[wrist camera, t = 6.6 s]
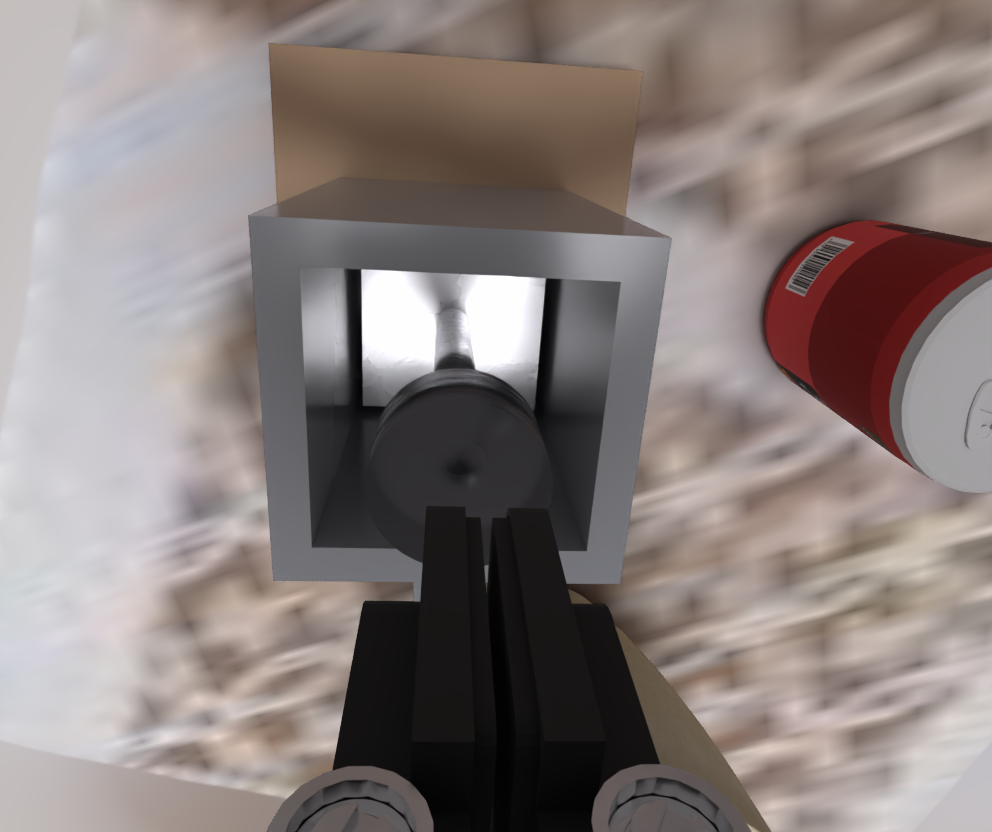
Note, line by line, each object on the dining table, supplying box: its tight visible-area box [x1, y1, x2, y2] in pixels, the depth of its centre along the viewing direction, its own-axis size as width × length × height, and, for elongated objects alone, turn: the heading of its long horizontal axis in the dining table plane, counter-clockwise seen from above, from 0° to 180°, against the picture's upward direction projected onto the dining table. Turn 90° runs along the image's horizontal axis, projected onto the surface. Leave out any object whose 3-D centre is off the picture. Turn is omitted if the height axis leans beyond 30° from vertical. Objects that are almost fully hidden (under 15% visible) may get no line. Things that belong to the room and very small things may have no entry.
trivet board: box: [269, 43, 643, 217], centre depth 30 cm, size 18×14×2 cm
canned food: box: [764, 220, 992, 493], centre depth 27 cm, size 8×8×11 cm
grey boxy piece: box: [248, 177, 672, 602], centre depth 23 cm, size 12×9×14 cm
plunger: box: [361, 269, 553, 566], centre depth 20 cm, size 6×6×13 cm
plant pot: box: [568, 589, 771, 832], centre depth 31 cm, size 15×15×16 cm
